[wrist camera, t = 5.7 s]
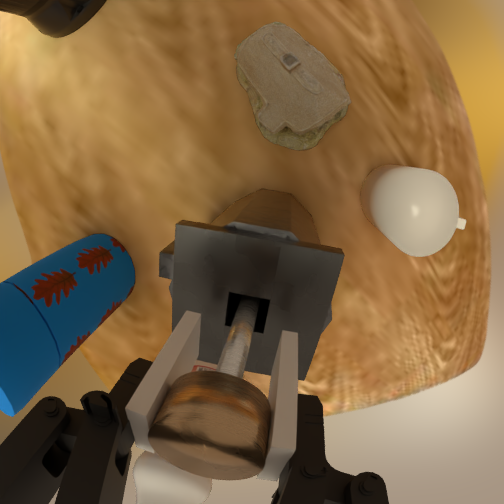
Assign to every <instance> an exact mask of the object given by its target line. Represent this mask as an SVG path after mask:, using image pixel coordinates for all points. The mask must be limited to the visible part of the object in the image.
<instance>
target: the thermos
mask: <svg viewBox="0 0 504 504" xmlns="http://www.w3.org/2000/svg"><path fill="white" fill-rule="evenodd" d="M134 284H135V270H134V266H133V263H132V260H131V258H130V256H129V254H128V253H127V251H126V250H125V248H124V247H123V246H122V245H121V244H120V243H119V242H118V241H117V240H116V239H114V238H112V237H110V236H108V235H105V234H93V235H91V236H88V237H85V238H83V239H80V240H78V241H76V242H74V243H72V244H70V245H68V246H66V247H64V248H62V249H60V250H58V251H56V252H54V253H53V254H51V255H49V256H47V257H45V258H43V259H41V260H40V261H38V262H36V263H34V264H32V265H31V266H29V267H27V268H25V269H23V270H22V271H20V272H18V273H17V274H15V275H13V276H11V277H10V278H8V279H7V280H5V281H3V282H1V283H0V410H1V411H3V412H4V413H5V414H7V415H9V416H12V417H13V416H14V415H15V414H17V413H18V412H19V411H20V410H21V409H23V408H24V406H25V405H26V404H27V403H28V402H29V401H30V399H31V398H32V397H33V396H34V395H35V394H36V393H37V392H38V391H39V389H40V388H41V387H42V386H43V385H44V384H45V383H46V382H47V380H48V379H49V378H50V377H51V376H52V375H53V374H54V373H55V372H56V371H57V370H58V368H59V367H60V366H61V365H62V364H63V363H64V362H65V361H66V360H67V359H68V358H69V357H70V356H71V355H72V354H73V352H75V350H76V349H77V348H78V347H79V346H80V345H81V344H82V343H83V342H84V341H85V340H86V339H87V338H88V337H89V336H90V335H91V334H92V333H93V332H94V331H95V330H96V329H97V328H98V327H99V326H100V325H101V324H102V323H103V322H104V321H105V320H106V319H107V318H108V317H109V316H110V315H111V314H112V313H113V312H114V311H115V310H116V309H117V308H118V307H119V306H120V305H121V304H122V302H123V301H124V300H125V299H126V298H127V297H128V296H129V295H130V293H131V292H132V290H133V287H134Z"/></svg>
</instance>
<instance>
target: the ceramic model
mask: <svg viewBox="0 0 504 504" xmlns="http://www.w3.org/2000/svg"><path fill="white" fill-rule="evenodd" d="M234 56H235V59H236V60H237V67H236V69H237V78H238V80H239V82H240V84H241V85H242V86H243V88H244V89H245V90H246V91H247V93H248V96H249V101H250V103H251V105H252V108H253V113H254V115H255V121H256V123H257V125H258V127H259V129H260V130H261V133H262V134H263V136H264V137H265V138H266V139H268V140H269V141H271V142H272V143H274V144H279V145H280V146H286V147H288V148H290V149H293V150H306V149H310V148H313V147H314V146H316V145H317V143H318V141H319V140H320V139H321V138H322V137H323V135H324V134H325V132H326V131H327V130H328V128H329V127H330V126H331V125H333V124H334V123H336V122H338V121H339V120H341V118H342V117H344V116H345V114H346V112H347V109H348V105H349V104H350V103H351V100H350V97H349V93H348V92H347V90H346V89H345V82H344V79H343V75H342V74H340V73H339V71H338V70H337V69H336V68H335V67H334V66H333V64H332V63H331V62H330V61H329V60H328V59H327V58H326V57H325V56H324V55H323V54H322V53H321V52H320V51H318V50H317V49H316V48H315V47H314V46H312V45H310V44H309V43H308V42H306V41H305V40H304V39H303V38H302V37H301V35H300V34H298V33H297V32H296V31H295V30H294V29H292V28H290V27H288V26H286V25H285V24H283V23H280V22H274V23H271V24H267V25H265V26H263V27H261V28H259V29H258V30H257V31H256V32H254V33H253V34H251V35H250V36H249V37H248V38H246V39H245V40H243V41H242V43H241V44H239V45H238V46H237V49H236V53H235V55H234Z"/></svg>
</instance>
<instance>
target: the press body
mask: <svg viewBox="0 0 504 504" xmlns="http://www.w3.org/2000/svg"><path fill="white" fill-rule="evenodd" d="M343 259H344V253H343V251H342V249H340V248H335V247H330V246H325V245H321V243H320V240H319V237H318V234H317V231H316V228H315V225H314V222H313V219H312V216H311V214H310V213H309V212H308V211H307V210H306V209H305V208H304V207H303V206H302V205H301V204H300V203H299V202H298V201H297V200H296V198H295V197H294V196H293V195H292V194H289V193H284V192H278V191H273V190H267V189H260V190H258V191H256V192H254V193H252V194H250V195H248V196H246V197H244V198H242V199H240V200H238V201H236V202H235V203H233V204H232V205H231V206H230V207H229V208H228V209H226V210H225V211H224V212H223V213H222V214H221V215H220V216H218V217H217V218H216V219H215V220H214V221H213V222H212V223H210V224H206V223H200V222H192V221H186V220H181V221H180V222H178V223H177V224H176V230H175V240H174V241H173V242H172V243H171V244H169V245H168V246H167V247H166V248H164V249H163V250H162V251H161V252H160V258H159V277H163V278H168V279H172V281H171V283H170V286H169V290H170V293H171V297H172V332H173V331H174V329H175V327H176V326H177V324H178V323H179V321H180V320H181V318H182V317H183V315H184V313H185V312H186V310H187V311H191V312H195V313H200V314H201V324H200V340H199V356H198V358H197V360H199V361H203V362H207V363H212V364H216V365H218V362H219V360H220V357H221V354H222V351H223V348H224V345H225V343H226V340H227V337H228V334H229V331H230V328H231V326H232V323H233V320H234V317H235V314H236V311H237V308H238V306H239V303H240V301H239V300H237V299H236V298H234V297H233V296H232V295H231V292H233V293H238V294H243V295H248V296H253V297H258V298H264V299H269V300H270V303H269V306H259V308H258V312H257V317H256V321H255V325H254V330H253V334H252V339H251V343H250V347H249V352H248V356H247V360H246V365H245V369H244V371H249V372H254V373H259V374H265V375H271V373H272V368H273V364H274V361H275V357H276V353H277V349H278V345H279V342H280V338H281V334H282V330H284V331H290V332H296V333H298V380H303V381H304V380H305V377H306V374H307V372H308V369H309V366H310V364H311V361H312V358H313V355H314V353H315V350H316V347H317V344H318V341H319V338H320V335H321V333H322V332H323V331H324V329H325V328H326V327H327V325H328V324H329V323H330V322H331V320H332V310H331V301H332V298H333V294H334V291H335V288H336V284H337V281H338V277H339V274H340V270H341V266H342V263H343Z"/></svg>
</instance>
